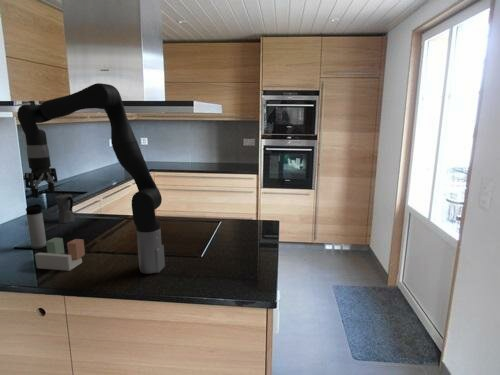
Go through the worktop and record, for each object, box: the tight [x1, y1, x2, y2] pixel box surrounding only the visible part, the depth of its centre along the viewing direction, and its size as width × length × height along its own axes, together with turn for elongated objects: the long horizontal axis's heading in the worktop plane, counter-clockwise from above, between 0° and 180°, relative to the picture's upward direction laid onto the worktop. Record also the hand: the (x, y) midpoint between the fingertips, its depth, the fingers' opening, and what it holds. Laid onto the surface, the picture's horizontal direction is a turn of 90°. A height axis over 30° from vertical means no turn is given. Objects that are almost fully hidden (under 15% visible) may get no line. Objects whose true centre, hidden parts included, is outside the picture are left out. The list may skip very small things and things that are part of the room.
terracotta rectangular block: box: [66, 238, 86, 259], centre depth 145 cm, size 4×5×7 cm
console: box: [34, 252, 83, 272], centre depth 142 cm, size 15×8×6 cm, turn 80°
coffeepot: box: [54, 191, 76, 224], centre depth 199 cm, size 15×9×18 cm, turn 55°
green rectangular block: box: [45, 237, 65, 254], centre depth 147 cm, size 4×5×7 cm
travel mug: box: [25, 203, 47, 250], centre depth 161 cm, size 6×7×20 cm
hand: (44, 195), depth 140 cm, fingers open, 8 cm apart
